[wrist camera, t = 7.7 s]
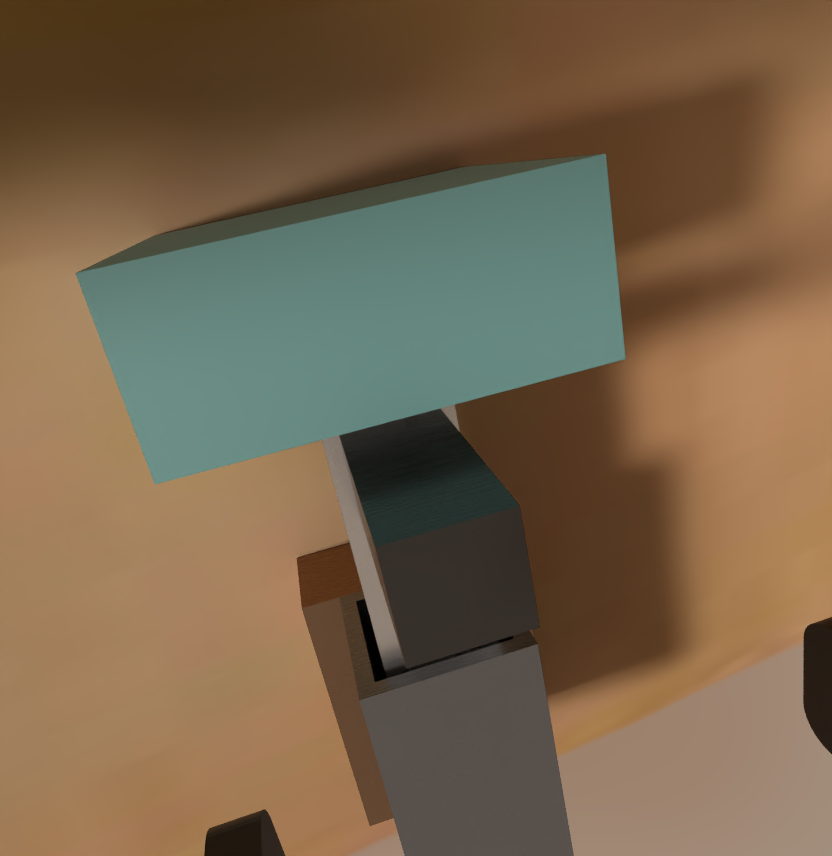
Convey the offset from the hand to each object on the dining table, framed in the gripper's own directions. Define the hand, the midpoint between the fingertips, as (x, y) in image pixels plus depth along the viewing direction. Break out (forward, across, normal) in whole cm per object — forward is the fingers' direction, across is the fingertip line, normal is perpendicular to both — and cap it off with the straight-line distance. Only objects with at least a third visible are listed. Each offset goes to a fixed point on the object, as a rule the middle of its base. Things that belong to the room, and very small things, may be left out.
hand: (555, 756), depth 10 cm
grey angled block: (+16, 0, +3) cm, 16 cm away
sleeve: (+21, 0, +13) cm, 25 cm away
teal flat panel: (+21, 0, -5) cm, 21 cm away
